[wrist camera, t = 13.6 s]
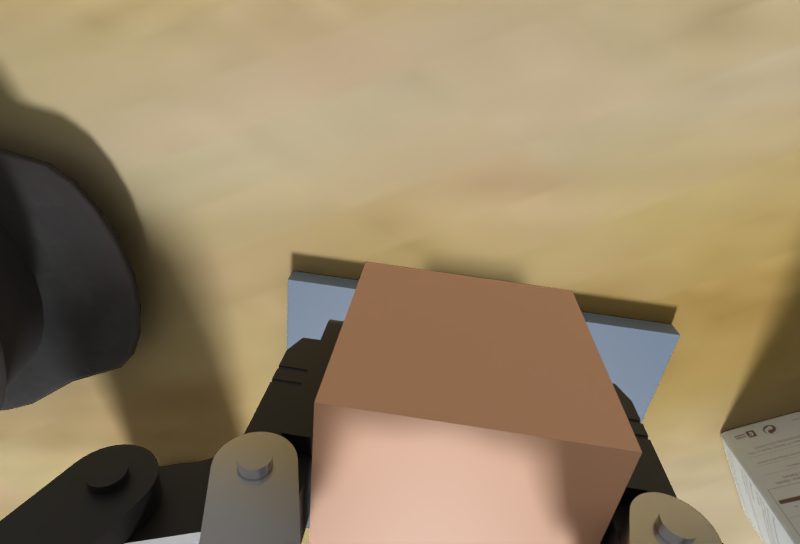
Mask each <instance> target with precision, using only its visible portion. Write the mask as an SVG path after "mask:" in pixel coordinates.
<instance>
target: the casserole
mask: <svg viewBox="0 0 800 544" xmlns="http://www.w3.org/2000/svg"><path fill="white" fill-rule="evenodd" d="M140 310H141V306H140V301H139V296H138V291H137V286H136V281H135V276H134V274H133V271H132V269H131V266H130V264H129V261H128V259H127V257H126V254H125V252H124V249H123V247H122V245H121V242H120V241H119V239H118V237H117V236H116V234H115V232H114V231H113V229H112V228H111V226H110V224H109V223H108V221H107V219H106V218H105V216H104V214H103V213H102V211H101V210H100V209H99V208H98V206H97V205H96V204H95V203H94V202H93V201H92V199H91V198H90V197H89V196H88V195H87V194H86V192H85V191H84V190H83V189H82V188H81V187H80V186H79V184H78V183H76V182H75V181H74V180H72V179H71V178H69V177H68V176H66V175H65V174H64V173H62V172H61V171H59V170H58V169H56V168H55V167H54V166H52V165H51V164H49V163H47V162H43V161H40V160H37V159H33V158H30V157H27V156H23V155H20V154H17V153H13V152H10V151H6V150H3V149H0V410H9V409H13V408H17V407H21V406H25V405H29V404H32V403H34V402H36V401H38V400H40V399H42V398H43V397H45V396H47V395H49V394H51V393H52V392H54V391H56V390H58V389H60V388H61V387H63V386H65V385H67V384H69V383H70V382H72V381H76V380H79V379H83V378H86V377H89V376H93V375H96V374H100V373H103V372H106V371H110V370H113V369H116V368H120V367H121V366H122V365H123V364H124V363H125V362H126V361H127V360H128V359H129V358H130V357H131V356H132V355H133V354H134V352H135V349H136V346H137V342H138V339H139V336H140Z"/></svg>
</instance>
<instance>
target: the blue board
mask: <svg viewBox="0 0 800 544" xmlns="http://www.w3.org/2000/svg"><path fill="white" fill-rule="evenodd" d="M358 282H359V280H354V279H347V278H340V277H333V276H325V275H318V274H311V273H304V272H297V271H293V272H292V274H291V276H290V277H289V279H288V313H287V349H289V348H290V347H291V346H293V345H294V344H295V343H296V342H298V341H299V340H300V339H302V338H303V337H304V338H310V339H317V340H321V337H322V335H323V332H324V330H325V328H326V325H327V323H328V321H329V320H330V319H332V320H339V321H344V320H345V317H346V314H347V312H348V309H349V306H350V303H351V301H352V298H353V295H354V293H355V290H356V287H357V284H358ZM582 315H583V317H584V319H585V322H586V324H587V326H588V329H589V331H590V333H591V335H592V338H593V340H594V342H595V345H596V347H597V349H598V352H599V354H600V356H601V358H602V361H603V363H604V365H605V368H606V370H607V372H608V375H609V377H610V379H611V382H612V383H613V384H616V385H617V386H618V387H619V388H620V389H621V390H622V391H623V393H624V394H625V395H626V396H627V397H628V398H629V399H630V400H631V401H632V402H633V404H634V407H635V409H636V411H637V413H638V415H639V417H640V420H641V421H640V423H641V422H642V420H643V417H644V415H645V413H646V411H647V408H648V406H649V404H650V402H651V399H652V397H653V395H654V393H655V390H656V388H657V386H658V384H659V381H660V379H661V377H662V375H663V372H664V370H665V368H666V366H667V363H668V361H669V359H670V357H671V354H672V352H673V350H674V348H675V345H676V343H677V341H678V339H679V337H680V335H679V333H678V332H677V331H676V329H675V328H674V327H673V325H672V324H664V323H657V322H650V321H643V320H636V319H629V318H622V317H615V316H608V315H601V314H594V313H587V312H582Z"/></svg>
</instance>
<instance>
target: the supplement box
mask: <svg viewBox="0 0 800 544" xmlns="http://www.w3.org/2000/svg"><path fill="white" fill-rule="evenodd" d="M721 438H722V441H723V445H724V449H725V453H726V456H727V459H728V462H729V466H730V469H731V472H732V475H733V478H734V482H735V485H736V488H737V491H738V494H739V497H740V501H741V504H742V507H743V510H744V513H745V514H746V516H747V517H748V519H749V520H750V522H751V524H752V525H753V527H754V528H755V530H756V532H757V533H758V535H759V536H760V538H761V540H762V541H763V543H764V544H800V411H799V412H795V413H791V414H788V415H784V416H780V417H776V418H773V419H769V420H765V421H761V422H757V423H754V424H750V425H746V426H743V427H739V428H736V429H732V430H729V431H725V432H723V433H721Z"/></svg>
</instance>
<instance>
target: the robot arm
mask: <svg viewBox="0 0 800 544" xmlns="http://www.w3.org/2000/svg"><path fill="white" fill-rule="evenodd" d="M343 323H344V321H339V320H332V319H330V320H329V321H328V323H327V325H326V328H325V330H324V332H323V335H322V337H321V340H317V339H310V338H304V337H303V338H302V339H300V340H299V341H298V342H296V343H295V344H294V345H293V346H291V347H290V348H289V349H287V351H286V353H285V355H284V357H283V359H282V361H281V363H280V365H279V369H277V371H276V373H275V374H274V376H273V378H272V382H270V384H269V386H268V388H267V390H266V392H265V394H264V396H263V398H262V400H261V402H260V404H259V406H258V408H257V410H256V412H255V414H254V416H253V418H252V420H251V422H250V424H249V426H248V428H247V430H246V432H245V433H244V434H243V435H241V436H238V437H236V438H234V439H232V440H230V441H229V442H227V443H226V444H225V445H223V446H222V447H221V448H220V449H219V451H218V452H217V453H216V455H215V457H214V458H211V459H208V460H204V461H200V462H194V463H186V464H177V465H169V466H160V467H158V463H157V459H156V458H155V456H154V455H153V454H152V453H151V452H150V451H149V450H147V449H145V448H143V447H140V446H136V445H125V444H124V445H115V446H110V447H106V448H103V449H99V450H97V451H95V452H92V453H90V454H88V455H87V456H85V457H83V458H82V459H80V460H79V461H77V462H76V463H74V464H73V465H72V466H71V467H69V468H68V469H67V470H65V471H64V472H63V473H62V474H60V475H59V476H58V477H56V478H55V479H54V480H53V481H51V482H50V483H49V484H47V485H46V486H45V487H44V488H42V489H41V490H40V491H38V492H37V493H36V494H35V495H33V496H32V497H31V498H29V499H28V500H27V501H26V502H24V503H23V504H22V505H20V506H19V507H18V508H17V509H15V510H14V511H13V512H11V513H10V514H9V515H7V516H6V517H5V518H4V519H2V520H1V521H0V544H301V542H302V539H303V536H304V532H305V529H306V528H310V504H311V477H312V450H313V422H314V402H315V399H316V396H317V393H318V391H319V388H320V385H321V383H322V380H323V377H324V374H325V372H326V369H327V366H328V363H329V361H330V358H331V355H332V353H333V350H334V347H335V344H336V342H337V339H338V336H339V333H340V331H341V328H342V325H343ZM612 384H613V383H612ZM613 386H614V388H615V391H616V393H617V395H618V398H619V400H620V402H621V405H622V407H623V409H624V411H625V414H626V416H627V418H628V421H629V423H630V425H631V428H632V430H633V432H634V435H635V437H636V439H637V441H638V444H639V446H640V448H641V451H642V454H641V456H640V458H639V460H638V463H637V465H636V467H635V469H634V471H633V473H632V476H631V478H630V480H629V482H628V484H627V486H626V488H625V491H624V493H623V495H622V497H621V499H620V501H619V504H618V506H617V508H616V510H615V512H614V514H613V517H612V519H611V521H610V523H609V525H608V527H607V530H606V532H605V534H604V536H603V538H602V540H601V542H600V544H723V543H722V542H721V539H720V537H719V535H718V533H717V532H716V530H715V529H714V527H713V526H712V525H711V524H710V522H709V521H708V520H707V519H706V518H705V517H704V516H703V515H702V514H701V513H700V512H698V511H697V510H696V509H695V508H693V507H692V506H690V505H689V504H687V503H685V502H684V501H682V500H680V499H678V498H677V497H676V495H675V493H674V491H673V488H672V486H671V484H670V482H669V480H668V478H667V475H666V473H665V471H664V469H663V467H662V465H661V463H660V460H659V458H658V456H657V454H656V452H655V450H654V447H653V445H652V443H651V441H650V440H648V435H647V432H646V430H645V428H644V426H643V424H641V423H640V421H641V420H640V417H639V415H638V413H637V411H636V409H635V407H634V404H633V402H632V401H631V400H630V399H629V398H628V397H627V396H626V395H625V394H624V393H623V391H622V390H621V389H620V388H619V387H618V386H617V385H616V384H613Z"/></svg>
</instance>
